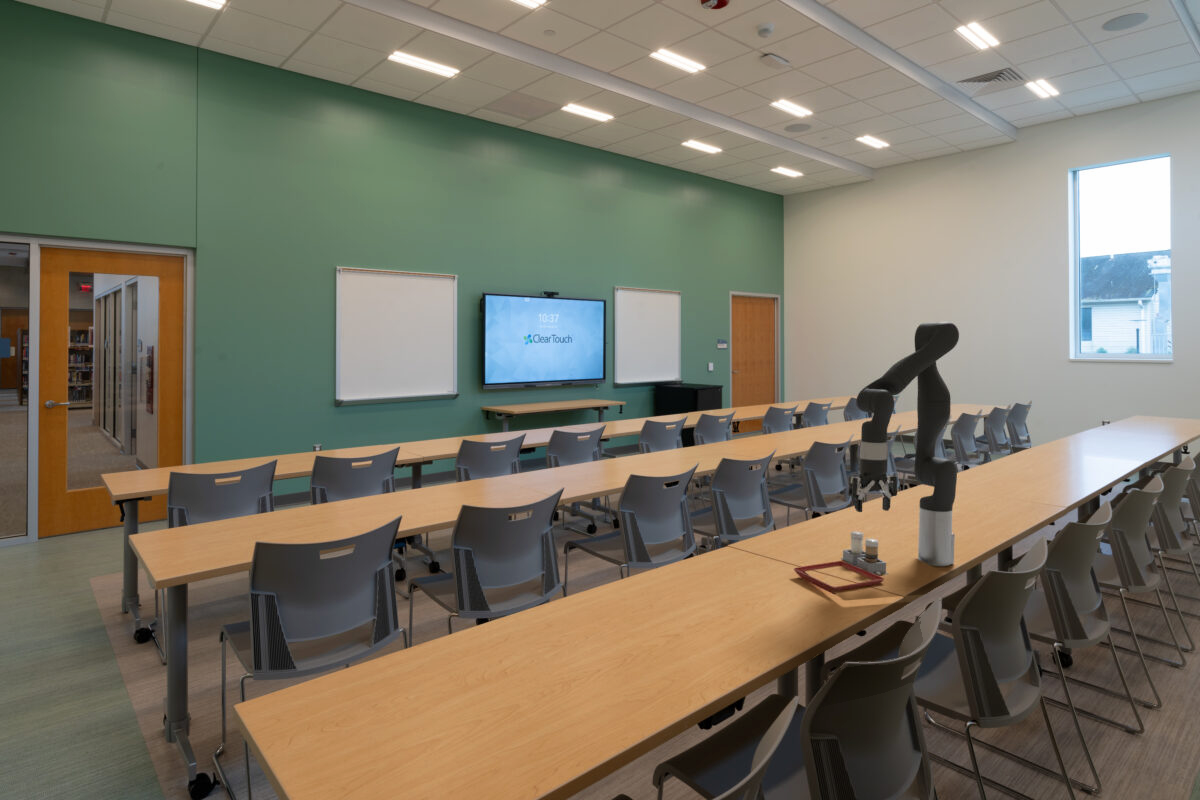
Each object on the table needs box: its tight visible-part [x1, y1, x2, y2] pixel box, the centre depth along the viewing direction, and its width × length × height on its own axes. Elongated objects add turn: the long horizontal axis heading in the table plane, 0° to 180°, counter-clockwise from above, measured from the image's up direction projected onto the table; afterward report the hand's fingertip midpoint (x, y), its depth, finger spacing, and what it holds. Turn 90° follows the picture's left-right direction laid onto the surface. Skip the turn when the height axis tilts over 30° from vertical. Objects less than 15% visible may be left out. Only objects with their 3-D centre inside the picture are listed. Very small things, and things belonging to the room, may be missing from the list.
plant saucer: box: [793, 560, 885, 595], centre depth 189 cm, size 18×18×3 cm
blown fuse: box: [864, 538, 879, 563], centre depth 195 cm, size 4×4×9 cm
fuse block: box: [839, 548, 889, 576], centre depth 199 cm, size 6×16×4 cm, turn 9°
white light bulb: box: [850, 531, 864, 555], centre depth 202 cm, size 4×4×9 cm
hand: (872, 510), depth 194 cm, fingers open, 8 cm apart
